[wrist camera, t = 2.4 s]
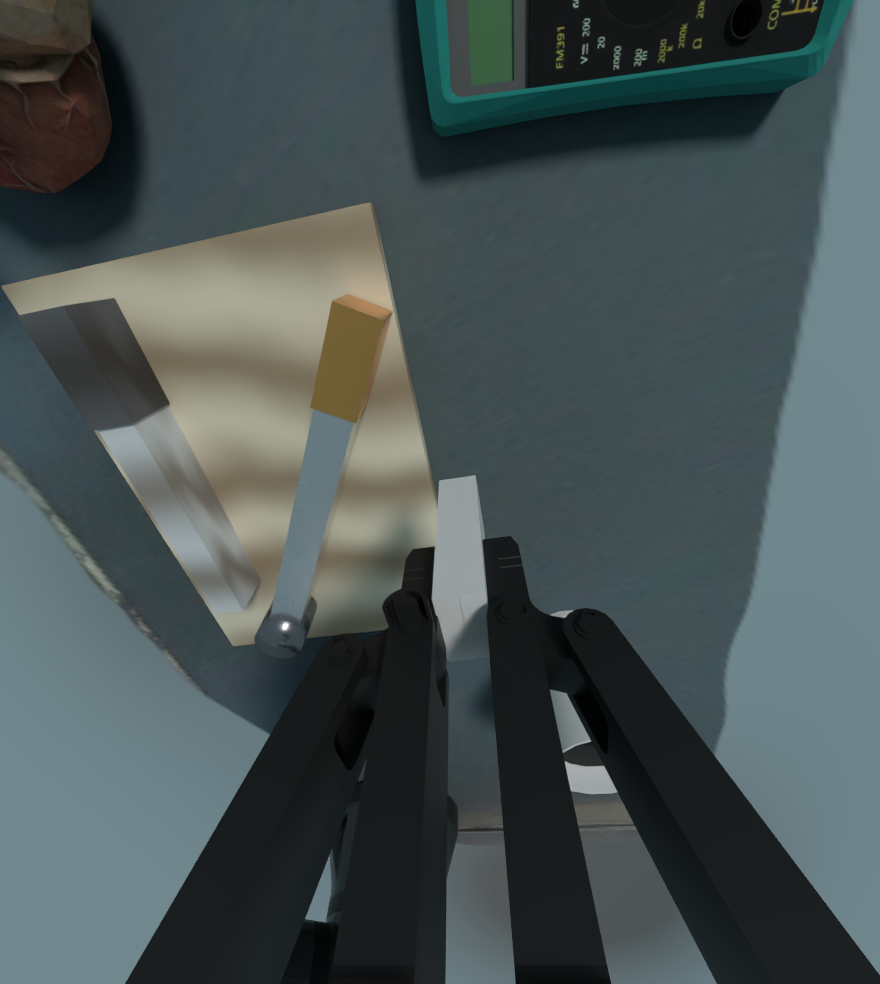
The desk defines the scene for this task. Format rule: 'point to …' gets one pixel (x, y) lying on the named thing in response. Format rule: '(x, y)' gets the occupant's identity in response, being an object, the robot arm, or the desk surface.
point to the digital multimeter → (611, 53)
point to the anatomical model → (50, 95)
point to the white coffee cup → (578, 746)
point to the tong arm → (324, 465)
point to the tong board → (244, 407)
